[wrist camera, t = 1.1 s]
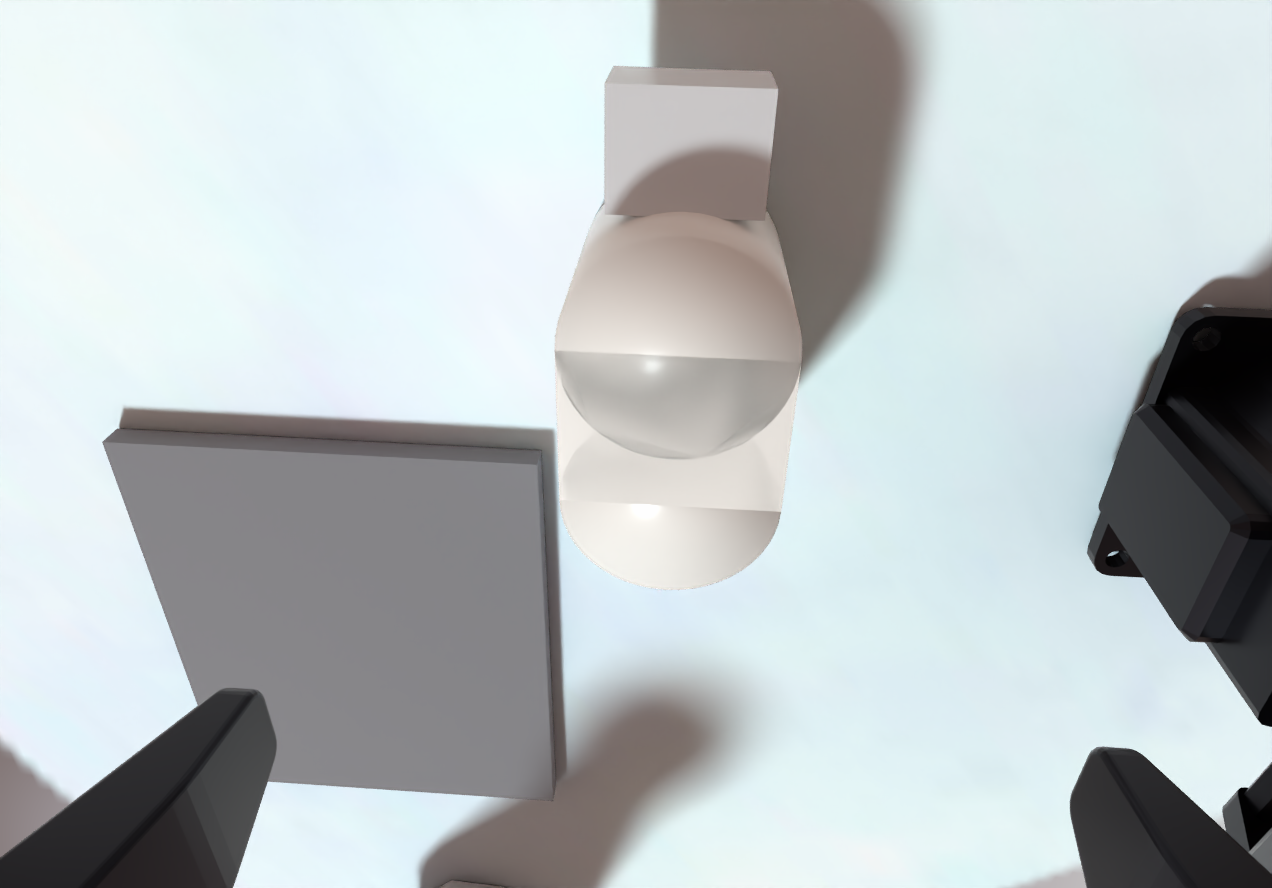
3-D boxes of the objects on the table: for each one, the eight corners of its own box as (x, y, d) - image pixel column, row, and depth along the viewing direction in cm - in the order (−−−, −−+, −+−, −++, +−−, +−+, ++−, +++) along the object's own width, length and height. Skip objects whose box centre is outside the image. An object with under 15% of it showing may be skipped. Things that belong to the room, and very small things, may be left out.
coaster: (540, 450, 20) (537, 465, 19) (555, 783, 26) (553, 801, 26) (117, 428, 20) (102, 441, 20) (233, 761, 27) (224, 778, 26)
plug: (757, 478, 20) (769, 595, 17) (584, 469, 20) (562, 583, 17) (805, 61, 15) (836, 106, 12) (580, 54, 15) (546, 97, 12)
